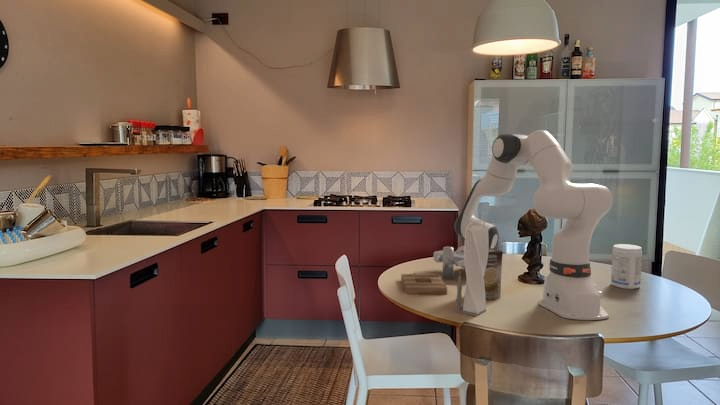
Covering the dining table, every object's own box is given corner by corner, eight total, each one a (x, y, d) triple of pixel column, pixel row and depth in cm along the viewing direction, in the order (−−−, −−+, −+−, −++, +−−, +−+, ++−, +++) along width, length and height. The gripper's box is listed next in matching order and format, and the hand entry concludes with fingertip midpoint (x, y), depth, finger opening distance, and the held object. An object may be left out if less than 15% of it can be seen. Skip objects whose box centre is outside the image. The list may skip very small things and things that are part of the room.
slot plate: (446, 294, 179) (447, 287, 179) (406, 294, 179) (406, 287, 178) (438, 280, 197) (438, 274, 196) (401, 280, 197) (401, 274, 196)
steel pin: (453, 279, 198) (454, 248, 196) (443, 279, 198) (444, 248, 196) (452, 277, 202) (452, 246, 200) (441, 277, 202) (442, 246, 200)
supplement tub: (631, 282, 195) (633, 243, 194) (645, 289, 186) (648, 248, 184) (605, 282, 195) (607, 243, 193) (618, 289, 186) (621, 248, 184)
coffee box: (477, 300, 172) (478, 252, 170) (467, 295, 178) (468, 249, 176) (501, 298, 174) (502, 251, 173) (490, 293, 180) (492, 247, 179)
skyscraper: (467, 305, 167) (470, 218, 164) (491, 310, 162) (494, 221, 158) (454, 311, 160) (457, 221, 157) (478, 317, 155) (481, 224, 152)
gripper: (445, 245, 215) (424, 250, 205) (489, 252, 201) (470, 258, 191) (444, 260, 216) (424, 265, 206) (488, 268, 202) (469, 274, 192)
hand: (446, 262), depth 198 cm, fingers open, 8 cm apart
